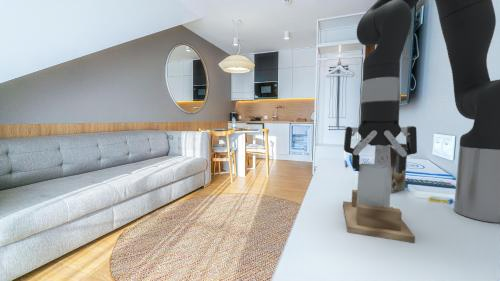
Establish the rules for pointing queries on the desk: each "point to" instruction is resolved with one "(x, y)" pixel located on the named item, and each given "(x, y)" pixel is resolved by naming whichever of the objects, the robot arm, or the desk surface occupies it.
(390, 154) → the coffee box
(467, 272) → the desk surface
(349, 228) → the oak cradle board
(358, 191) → the skincare box
